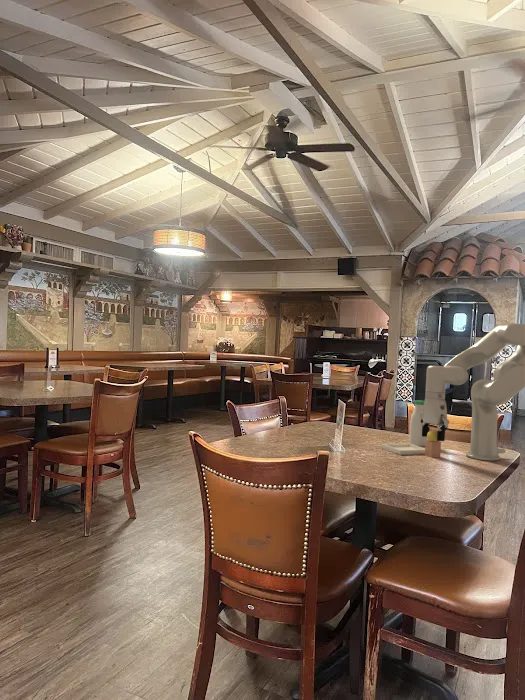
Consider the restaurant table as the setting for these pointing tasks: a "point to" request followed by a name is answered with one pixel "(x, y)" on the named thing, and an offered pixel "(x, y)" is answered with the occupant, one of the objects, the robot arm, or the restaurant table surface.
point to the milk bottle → (417, 425)
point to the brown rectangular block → (432, 448)
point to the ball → (432, 436)
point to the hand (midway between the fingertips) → (432, 438)
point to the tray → (404, 449)
